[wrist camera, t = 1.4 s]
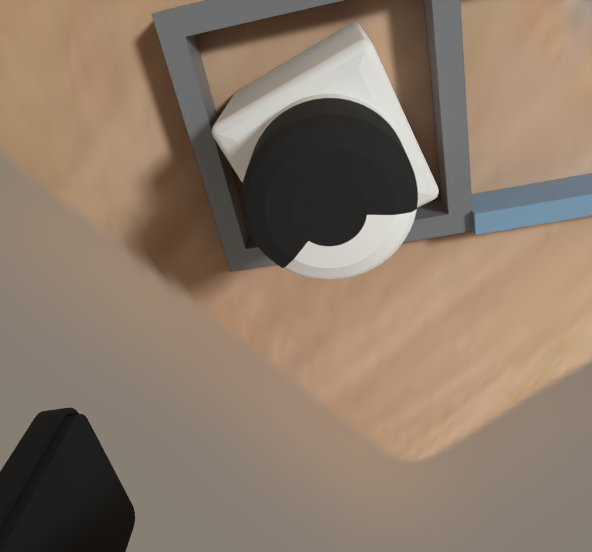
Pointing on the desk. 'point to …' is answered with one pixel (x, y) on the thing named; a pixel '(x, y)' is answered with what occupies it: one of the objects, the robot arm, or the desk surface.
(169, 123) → the desk surface
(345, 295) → the desk surface
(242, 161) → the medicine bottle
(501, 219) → the frame
